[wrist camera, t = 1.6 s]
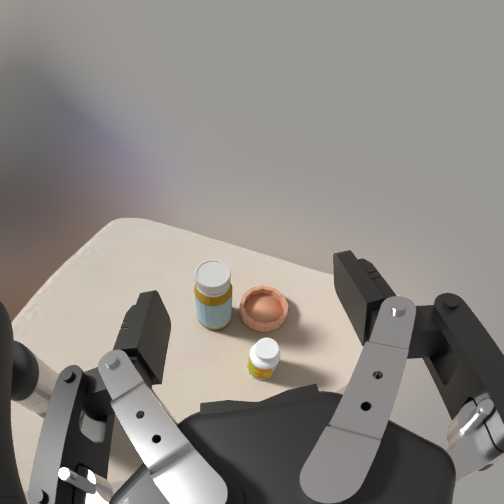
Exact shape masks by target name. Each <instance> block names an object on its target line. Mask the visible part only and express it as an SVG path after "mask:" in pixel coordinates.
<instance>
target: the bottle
mask: <svg viewBox="0 0 504 504" xmlns="http://www.w3.org/2000/svg"><path fill="white" fill-rule="evenodd" d="M230 277H231V273H230V269H229V267H228V266H227V265H226V264H225V263H224V262H222V261H220V260H214V259H211V260H206V261H204V262H202V263H200V264H199V265H198V266H197V268H196V270H195V281H196V284H195V289H194V291H195V299H196V306H197V313H198V318H199V321H200V323H201V324H202V325H203V326H204V327H205V328H207V329H211V330H219V329H222V328H224V327H225V326H227V325H228V323H229V322H230V320H231V310H232V285H231V283H230Z"/></svg>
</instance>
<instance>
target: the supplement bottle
mask: <svg viewBox="0 0 504 504" xmlns="http://www.w3.org/2000/svg"><path fill="white" fill-rule="evenodd" d="M279 360H280V351H279V346H278V344H277V342H276V341H275V340H273V339H271V338H262V339H260V340H259V341H258V342H257V343H256V344H255V345H253V347H252V348H251V350H250V354H249V360H248V365H247V369H248V372H249V374H250V375H251V376H252V377H253V378H255V379H258V380H265V379H268V378H269V377H271V376H272V375H273V373H274V371H275V369H276V367H277V364H278V362H279Z"/></svg>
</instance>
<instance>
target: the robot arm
mask: <svg viewBox="0 0 504 504" xmlns="http://www.w3.org/2000/svg"><path fill="white" fill-rule="evenodd" d="M333 264H334V285H335V290H336V293H337V296H338V298H339V300H340V302H341V304H342V305H343V307H344V309H345V311H346V313H347V315H348V317H349V319H350V321H351V323H352V325H353V327H354V330H355V332H356V334H357V336H358V338H359V340H360V342H361V344H362V346H364V347H363V350H362V352H361V355H360V357H359V360H358V362H357V365H356V367H355V370H354V372H353V374H352V377H351V379H350V381H349V383H348V386H347V388H346V390H345V392H344V394H343V395H342V394H339V393H334V392H326V391H318V387H317V384H313V385H309V386H304V387H300V388H295V389H291V390H287V391H285V392H282V393H280V394H278V395H275V396H273V397H270V398H268V399H265V400H263V401H260V402H246V401H232V400H225V401H217V402H208V403H201V404H200V412H197V413H195V414H193V415H191V416H189V417H187V418H185V419H184V420H183V421H181V422H180V423H178V422H177V421H176V420H175V419H174V417H173V416H172V415H171V414H170V412H169V411H168V410H167V408H166V407H165V406H164V405H163V403H162V402H161V401H160V399H159V398H158V396H157V395H156V394H155V392H154V391H153V390H152V385H156V384H162V378H163V371H164V365H165V359H166V353H167V348H168V342H169V336H170V331H171V321H170V317H169V315H168V313H167V310H166V308H165V306H164V304H163V302H162V300H161V297H160V295H159V293H158V292H157V291H156V290H155V291H149V292H144V293H140V295H139V298H138V300H137V303H136V305H133V306H132V307H131V308H130V309H129V310H128V312H127V313H126V315H125V318H124V320H123V323H122V326H121V330H120V331H119V334H118V337H117V340H116V343H115V345H114V348H113V351H110V352H108V353H107V354H105V355H104V356H103V357H102V358H101V360H100V361H99V364H98V367H97V368H94V369H91V370H89V371H86V372H83V371H82V369H81V368H80V367H79V366H77V365H71V366H68V367H66V368H65V369H64V370H63V371H62V372H61V373H60V374H58V373H56V372H55V371H54V370H52V369H51V368H50V367H49V366H48V365H46V364H45V363H44V362H43V361H42V360H40V359H39V358H38V357H37V356H36V355H35V354H33V353H32V352H31V351H30V350H29V349H28V348H27V347H25V346H24V345H23V344H21V343H19V342H17V341H14V339H13V330H12V325H11V320H10V317H9V314H8V312H7V310H6V308H5V307H4V305H3V304H2V303H1V302H0V504H27V501H26V498H25V495H24V491H23V488H22V485H21V482H20V478H19V474H18V469H17V464H16V459H15V453H14V447H13V439H12V430H11V400H13V401H14V402H16V403H18V404H20V405H22V406H24V407H26V408H27V409H29V410H31V411H33V412H35V413H37V414H38V415H39V416H41V417H42V418H44V422H43V426H42V430H41V433H40V437H39V441H38V445H37V449H36V454H35V458H34V463H33V468H32V473H31V479H30V485H29V491H28V498H29V502H30V504H452V499H453V492H454V487H455V483H456V482H458V481H460V480H462V479H464V478H466V477H468V476H469V475H471V474H473V473H475V472H476V471H483V470H486V469H488V468H489V467H491V466H492V465H494V464H495V463H497V462H499V461H501V460H502V459H503V458H504V355H503V354H502V352H501V351H500V349H499V348H498V346H497V345H496V343H495V342H494V341H493V339H492V338H491V336H490V335H489V333H488V332H487V331H486V329H485V328H484V327H483V325H482V324H481V323H480V321H479V320H478V318H477V317H476V316H475V315H474V313H473V312H472V311H471V309H470V308H469V307H468V305H467V304H466V303H465V302H464V300H462V298H460V297H459V296H457V295H455V294H451V293H444V294H441V295H439V296H438V297H437V298H436V299H435V302H434V305H427V306H415V304H414V303H413V302H412V301H411V300H409V299H407V298H405V297H401V296H396V294H395V293H394V292H393V290H392V289H391V288H390V286H389V285H388V284H387V282H386V281H385V280H384V278H383V277H381V275H380V273H379V272H377V269H376V268H375V267H374V266H373V264H372V263H370V262H368V261H367V260H365V259H358V260H357V258H356V257H355V256H354V254H353V253H352V252H351V251H350V250H348V251H344V252H339V253H335V254H334V255H333ZM410 358H423V360H424V362H425V364H426V366H427V368H428V369H429V372H430V374H431V376H432V378H433V380H434V382H435V384H436V386H437V388H438V390H439V392H440V394H441V397H442V399H443V401H444V403H445V405H446V408H447V410H448V412H449V415H450V417H451V419H452V422H451V423H450V424H449V426H448V429H447V440H448V449H447V452H446V451H445V450H444V449H443V448H441V447H440V446H438V445H436V444H434V443H432V442H430V441H428V440H426V439H424V438H422V437H420V436H418V435H416V434H414V433H412V432H411V431H409V430H407V429H405V428H403V427H401V426H399V425H397V424H396V423H394V422H392V421H390V420H389V417H390V414H391V411H392V408H393V405H394V402H395V399H396V396H397V392H398V389H399V386H400V382H401V379H402V375H403V372H404V368H405V364H406V360H407V359H410ZM115 413H116V415H117V417H118V419H119V421H120V423H121V425H122V426H123V428H124V430H125V432H126V433H127V435H128V437H129V439H130V440H131V442H132V444H133V445H134V447H135V449H136V450H137V452H138V453H139V455H140V457H141V458H142V460H143V461H144V463H143V464H142V465H141V466H140V467H139V468H138V469H137V470H136V472H135V473H134V474H133V475H132V476H131V477H130V478H129V479H128V480H127V481H126V482H125V483H124V484H123V485H122V487H121V488H120V489H119V490H118V491H117V492H116V493H115V494H114V493H113V492H112V487H111V485H110V483H109V482H108V481H107V473H108V462H109V453H110V445H111V437H112V430H113V423H114V417H115ZM83 414H84V418H83V423H82V428H81V431H80V428H79V420H80V419H81V418H82V416H83Z"/></svg>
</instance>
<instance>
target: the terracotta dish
mask: <svg viewBox="0 0 504 504" xmlns="http://www.w3.org/2000/svg"><path fill="white" fill-rule="evenodd" d="M287 311H288V303H287V301H286V299H285V297H284V295H283V294H282V293H280V292H279V291H277V290H276V289H275V288H271V287H266V286H259V287H255V288H251V289H250V290H248V291H247V292H246V293H245V294H244V295H243V296H242V299H241V303H240V309H239V313H240V315H241V318H242V321H243V323H245V324H246V325H247V326H248V327H249V328H251V329H252V330H255V331H260V332H269V331H273V330H276V329H278V328H279V327H280V326H281V325H282V324H283V323H284V322H285V319H286V316H287Z"/></svg>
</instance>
